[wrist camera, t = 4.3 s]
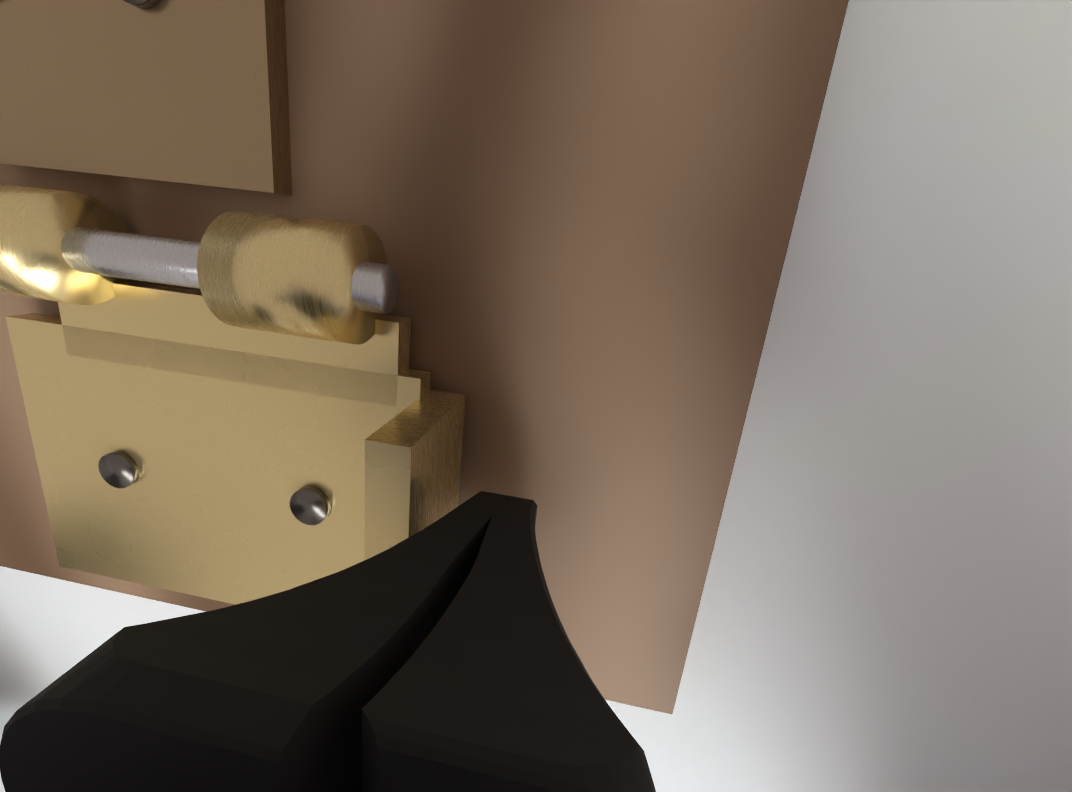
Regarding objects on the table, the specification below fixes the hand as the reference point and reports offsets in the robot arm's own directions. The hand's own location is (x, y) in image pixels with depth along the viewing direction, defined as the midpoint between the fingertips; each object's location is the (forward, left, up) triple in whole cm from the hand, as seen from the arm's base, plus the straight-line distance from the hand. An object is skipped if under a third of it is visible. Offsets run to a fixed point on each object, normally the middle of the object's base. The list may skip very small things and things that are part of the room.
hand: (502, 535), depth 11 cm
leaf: (+9, -1, -1) cm, 9 cm away
